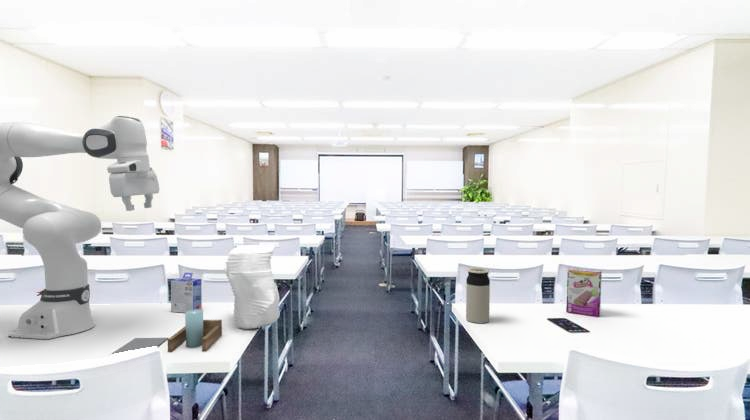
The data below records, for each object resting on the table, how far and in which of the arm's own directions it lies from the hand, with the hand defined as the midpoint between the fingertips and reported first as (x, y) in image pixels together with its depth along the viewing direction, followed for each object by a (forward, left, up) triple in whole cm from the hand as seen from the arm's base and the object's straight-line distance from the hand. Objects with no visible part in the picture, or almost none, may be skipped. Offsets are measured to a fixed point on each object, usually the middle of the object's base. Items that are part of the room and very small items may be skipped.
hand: (139, 209), depth 132 cm
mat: (+8, -17, -40) cm, 44 cm away
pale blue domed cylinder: (+23, -14, -40) cm, 48 cm away
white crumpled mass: (+34, +5, -40) cm, 53 cm away
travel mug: (+114, +5, -40) cm, 121 cm away
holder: (+23, -14, -40) cm, 48 cm away
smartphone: (+143, -2, -40) cm, 149 cm away
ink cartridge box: (+6, +20, -40) cm, 45 cm away
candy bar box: (+156, +11, -40) cm, 161 cm away
